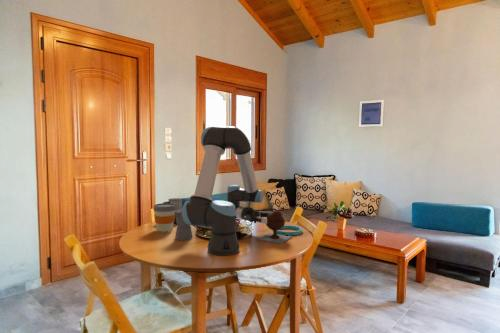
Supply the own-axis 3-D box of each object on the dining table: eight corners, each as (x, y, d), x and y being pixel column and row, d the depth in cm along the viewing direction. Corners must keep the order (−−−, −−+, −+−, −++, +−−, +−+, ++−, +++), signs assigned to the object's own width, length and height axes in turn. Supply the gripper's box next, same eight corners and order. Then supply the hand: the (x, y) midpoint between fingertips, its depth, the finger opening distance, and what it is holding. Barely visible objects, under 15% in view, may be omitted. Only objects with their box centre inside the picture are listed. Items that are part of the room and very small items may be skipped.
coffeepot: (181, 242, 171) (181, 208, 170) (168, 239, 176) (168, 206, 175) (201, 236, 184) (201, 203, 183) (188, 233, 189) (188, 202, 188)
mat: (281, 244, 170) (281, 242, 170) (257, 240, 177) (257, 238, 177) (292, 237, 182) (292, 236, 182) (269, 234, 189) (269, 232, 189)
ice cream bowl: (284, 235, 185) (285, 208, 184) (284, 241, 173) (285, 212, 172) (265, 234, 186) (266, 207, 185) (264, 240, 175) (264, 211, 173)
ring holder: (295, 237, 183) (295, 233, 183) (269, 232, 191) (269, 229, 191) (305, 230, 197) (305, 227, 197) (281, 227, 205) (281, 223, 205)
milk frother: (177, 219, 225) (177, 197, 224) (191, 223, 213) (191, 200, 212) (158, 222, 215) (158, 199, 214) (171, 227, 204) (171, 203, 203)
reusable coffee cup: (150, 232, 190) (149, 206, 189) (158, 227, 203) (158, 202, 202) (171, 233, 189) (171, 207, 188) (178, 228, 201) (178, 203, 200)
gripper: (259, 216, 203) (287, 221, 189) (230, 223, 184) (259, 230, 170) (259, 204, 203) (287, 208, 189) (230, 210, 184) (259, 215, 170)
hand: (274, 219), depth 179 cm, fingers open, 13 cm apart
